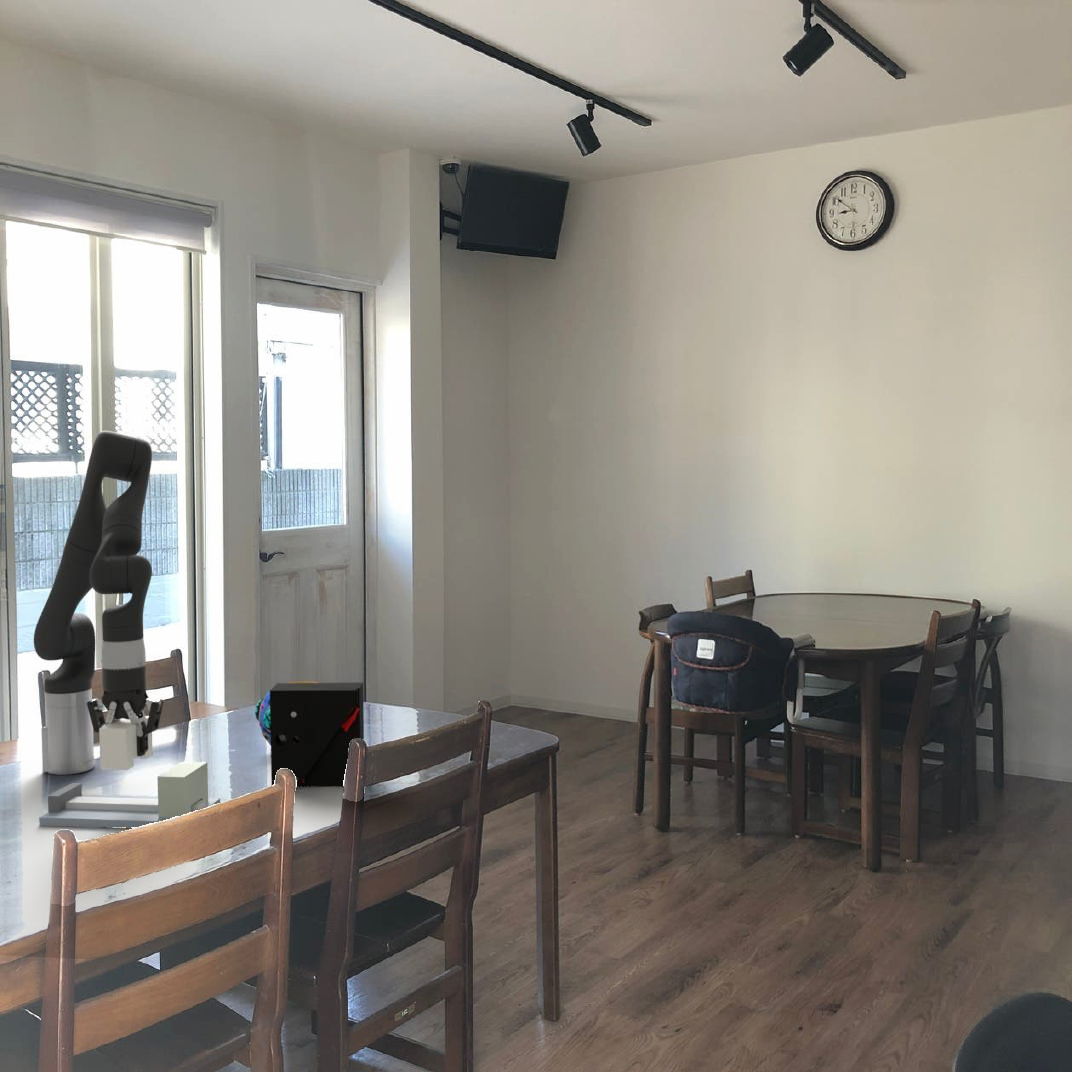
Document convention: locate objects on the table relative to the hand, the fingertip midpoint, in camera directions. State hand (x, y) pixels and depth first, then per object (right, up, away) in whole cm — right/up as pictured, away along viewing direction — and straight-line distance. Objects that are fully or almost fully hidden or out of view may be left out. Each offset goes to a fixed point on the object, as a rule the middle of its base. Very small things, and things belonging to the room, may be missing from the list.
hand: (126, 754), depth 197 cm
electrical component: (+31, -10, +21) cm, 39 cm away
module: (0, -1, 0) cm, 1 cm away
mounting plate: (+1, -11, 0) cm, 11 cm away
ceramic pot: (+22, -9, +45) cm, 51 cm away
